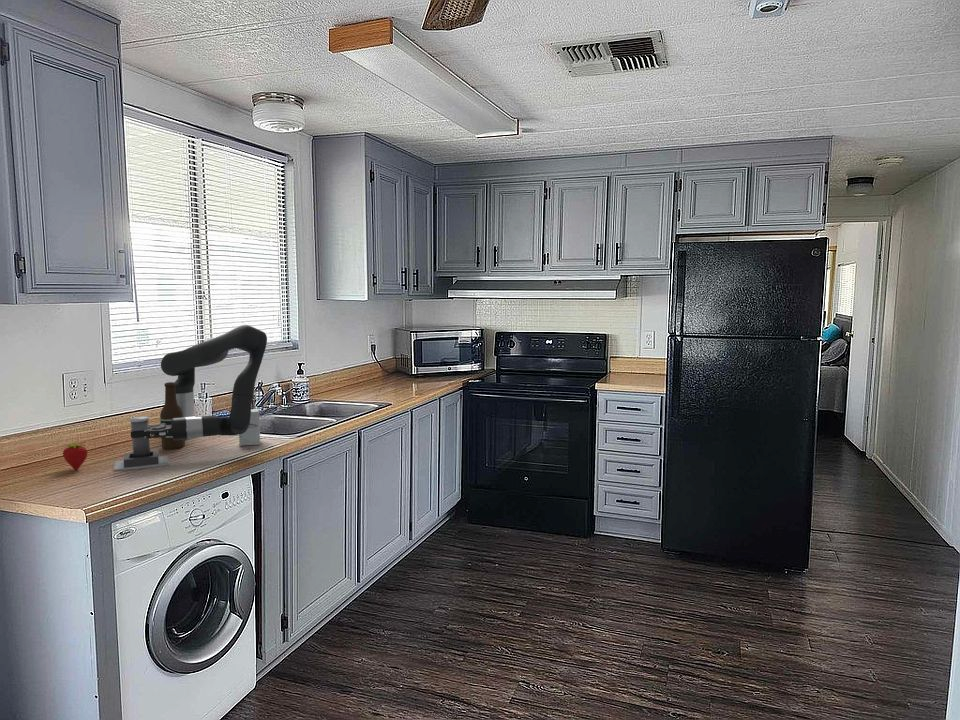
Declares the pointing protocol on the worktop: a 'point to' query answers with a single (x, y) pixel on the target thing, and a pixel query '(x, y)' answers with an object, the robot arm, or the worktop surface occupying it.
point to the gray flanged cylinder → (140, 444)
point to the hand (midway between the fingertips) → (131, 433)
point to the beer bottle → (170, 416)
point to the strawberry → (75, 455)
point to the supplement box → (251, 430)
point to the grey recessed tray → (141, 461)
